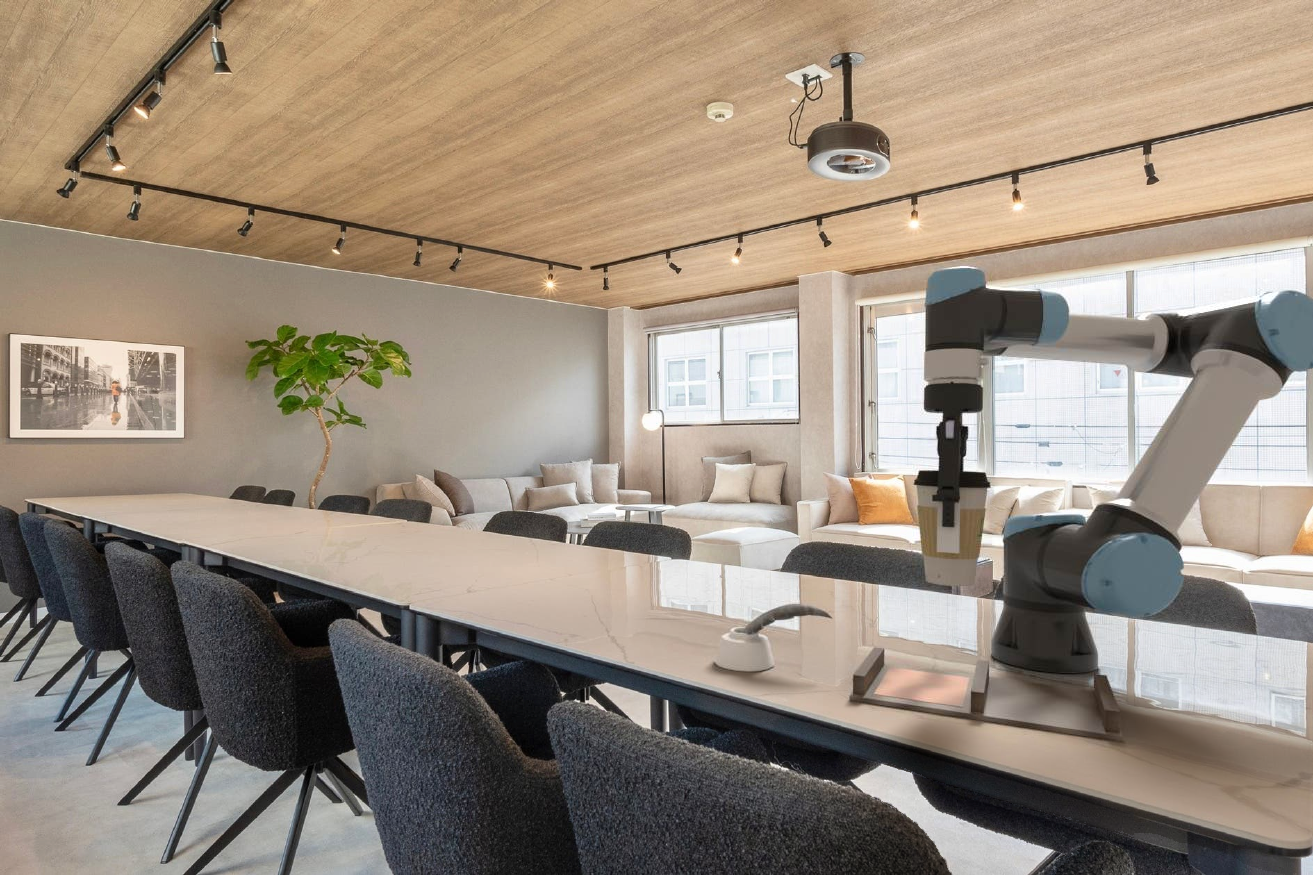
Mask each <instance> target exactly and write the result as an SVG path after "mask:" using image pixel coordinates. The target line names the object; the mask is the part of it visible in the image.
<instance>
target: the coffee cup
mask: <svg viewBox="0 0 1313 875" xmlns="http://www.w3.org/2000/svg"><path fill="white" fill-rule="evenodd" d="M913 481H914V482H913V485H914V486H916V494H917V501H918V502H917V503H918V504H917V506H916V507H917V508H916V509H917V516H918V517H917V518H918V526H919V537H920V546H921V547H920V548H921V554H922V555H923V562H924V563H923V566H924V574H925V575H924V576H925V581H926V582H927V583H929V584H935V585H940V586H949V587H971V586H975V582H976V574H977V569H978V568H977V567H978V561H979V560H978V559H980V553H981V545H982V539H983V532H984V525H985V518H986V512H987V511H986V510H987V508H986V502H987V496H988V495H987V494H988V489H990V488H991V487H992V486H991V482H990V481H989V480H988V478H987V473H986V472H985V471H972V470H971V471H970V470H963V471H960V482H959V491H960V495H959V496H960V500H959V503H960V543H959V553H946V552H937V513H938V501H932V495H937V490H938V470H937V469H936V470H934V469H932V470H930V469H928V470H927V469H925V470H920V469H919V470H918V473H917V476H916V478H914V480H913Z"/></svg>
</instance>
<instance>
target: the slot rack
mask: <svg viewBox="0 0 1313 875" xmlns="http://www.w3.org/2000/svg"><path fill="white" fill-rule="evenodd" d="M848 696H849V701H852V702H859V703H866V704H873V705H880V706H886V707H891V708H892V707H893V708H899V709H904V710H912V711H919V712H924V713H932V714H937V715H944V716H952V717H958V718H965V719H971V720H977V721H984V722H990V723H995V724H997V723H998V724H1004V725H1009V726H1017V727H1023V728H1030V729H1037V730H1043V731H1049V732H1054V733H1055V732H1056V733H1062V734H1067V735H1068V734H1069V735H1076V736H1081V737H1082V736H1083V737H1088V738H1095V739H1101V740H1109V741H1115V742H1121V743H1124V735H1123V732H1122V730H1121V710H1120V708H1119V705H1118V703H1117V702H1118V701H1117V700H1116V697H1115V694H1114V692H1113V689H1112V687H1111V683H1110V681H1109V679H1108V674H1098V673H1093V689H1086V688H1078V687H1072V686H1071V687H1069V686H1062V685H1056V684H1055V685H1054V684H1048V683H1047V684H1046V683H1039V682H1034V681H1033V682H1032V681H1026V680H1025V681H1023V680H1015V679H1010V678H1009V679H1007V678H1000V677H994V676H993V677H992V676H990V661H989V660H984V659H983V660H981V659H977V662H976V666H975V671H974V674H969V673H960V672H956V671H955V672H954V671H949V670H948V671H945V670H939V669H930V668H926V667H918V666H917V667H915V666H910V665H901V664H894V663H893V664H891V663H886V662H885V648H884V647H876V646H874V647H873V648H872V649H871V650H870V652H869V653H868V655H867V656H866V657H865V658H864V660H863V661H862V663H860V665H859V666H858V668H857V669H856V670H855V672H854V673H853V675H852V691H851V693H850V695H848Z"/></svg>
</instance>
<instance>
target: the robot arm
mask: <svg viewBox="0 0 1313 875" xmlns="http://www.w3.org/2000/svg"><path fill="white" fill-rule="evenodd" d="M985 274H986V273H985V272H984V270H982V269H981V268H977V267H974V266H973V267H972V266H955V267H952V266H951V267H946V268H942V269H938V270H936V271H934V272H932V273H931V274H930V275H929V276H928V278H927V283H926V291H925V299H924V300H925V302H924V307H925V314H924V315H925V316H924V317H925V320H924V321H925V328H924V330H925V333H924V334H925V335H924V337H925V338H924V344H925V345H924V346H925V347H924V348H925V349H924V350H925V352H924V354H923V357H924V358H923V361H924V362H923V363H924V364H923V380H924V381H925V382H927V384H926V385H925V387H924V388H923V409H924V410H923V411H925V412H926V413H931V414H932V413H933V414H942V419H941V420H942V421H940V422H939V424H938V425H937V426H935V427H936V428H935V429H936V431H935V435H936V439H937V442H936V443H937V446H936V451H937V452H936V453H937V455H938V490H937V495H932V501H938V513H937V552H946V553H959V543H960V503H959V500H960V496H959V495H960V491H959V482H960V471H965V470H964V468H965V467H964V463H965V462H964V461H965V460H964V457H966V455H967V441H968V439H969V426H967V425H963V414H977V413H980V412H982V411H983V408H984V387H983V385H981V384H979V382H981V381H983V379H984V368H983V366H988V365H989V359H988V358H986V357H985V356H987V357H1005V358H1006V357H1007V358H1008V357H1009V358H1020V359H1021V358H1022V359H1037V360H1047V361H1048V360H1050V361H1065V362H1077V363H1080V362H1081V363H1092V364H1103V365H1104V364H1106V365H1107V364H1108V365H1120V366H1121V365H1122V366H1125V367H1126V368H1127V369H1129V370H1130V371H1133V372H1135V373H1146V374H1147V373H1148V374H1156V375H1163V376H1171V377H1172V376H1173V377H1180V378H1188V379H1191V381H1190V382H1189V384H1188V386H1187V387H1186V389H1185V390H1184V392H1183V394H1182V395H1181V396H1180V398H1179V400H1178V401H1177V402H1176V404H1175V406H1174V408H1173V409H1172V410H1171V411H1170V414H1169V415H1168V417H1167V418H1166V419H1165V421H1164V423H1163V424H1162V426H1161V428H1160V429H1159V431H1158V432H1157V434H1156V435H1155V436H1154V437H1153V438H1154V439H1153V440H1152V441H1151V443H1150V444H1149V446H1148V448H1147V449H1146V450H1145V452H1144V454H1143V455H1142V457H1141V458H1140V460H1139V461H1138V462H1137V464H1136V466H1135V467H1134V469H1133V470H1132V471H1131V474H1130V476H1129V477H1128V478H1127V479H1126V481H1125V484H1124V485H1123V486H1122V487H1121V489H1120V491H1119V493H1118V494H1117V496H1116V497H1115V499H1114V500H1110V501H1105V502H1100V503H1098V504H1097V505H1096V506H1095V508H1094V509H1093V511H1092V512H1091V514H1090V516H1089V517H1088V519H1086V517H1085V516H1084V515H1083V514H1080V513H1077V514H1076V513H1075V514H1073V513H1071V514H1069V513H1068V514H1066V513H1064V514H1063V513H1059V514H1057V513H1055V514H1054V513H1052V514H1027V515H1026V514H1025V515H1014V516H1011V517H1008V518H1007V520H1006V521H1005V522H1004V523H1005V524H1004V529H1003V537H1002V544H1003V603H1002V605H1003V607H1002V610H1001V613H1000V617H999V618H998V622H997V624H996V626H995V630H994V633H993V635H992V638H991V643H990V644H991V645H990V648H991V650H990V651H991V652H990V654H991V656H992V657H993V658H994V659H995V660H997V661H999V662H1001V663H1005V664H1007V665H1010V666H1014V667H1018V668H1023V669H1027V670H1032V671H1038V672H1046V673H1055V674H1056V673H1058V674H1083V673H1090V672H1094V671H1096V670H1097V669H1098V667H1099V652H1098V649H1097V646H1096V643H1095V638H1094V637H1093V634H1092V631H1091V628H1090V625H1089V623H1088V622H1089V621H1088V620H1087V616H1086V608H1089V609H1092V610H1096V611H1098V612H1100V613H1104V614H1107V615H1108V616H1109V615H1110V616H1115V617H1125V618H1131V619H1141V618H1147V617H1151V616H1154V615H1157V614H1158V613H1160V612H1162V611H1164V610H1165V609H1166V608H1167V607H1169V606H1170V605H1171V604H1172V603H1173V601H1175V599H1176V598H1177V596H1178V595H1179V593H1180V591H1181V589H1182V587H1183V583H1184V579H1185V575H1184V574H1182V571H1183V569H1185V565H1184V561H1183V557H1182V555H1181V553H1180V552H1181V550H1182V548H1183V542H1182V540H1181V537H1180V535H1179V533H1178V532H1179V529H1180V527H1181V526H1182V524H1183V523H1184V522H1185V520H1186V518H1187V516H1188V515H1189V513H1190V512H1191V510H1192V508H1193V506H1195V503H1197V501H1198V500H1199V497H1200V496H1201V494H1202V493H1203V491H1204V490H1205V488H1206V486H1207V485H1208V483H1209V482H1210V480H1211V478H1212V477H1213V475H1214V473H1215V472H1216V470H1217V468H1219V466H1220V464H1221V463H1222V461H1223V459H1224V457H1226V455H1227V453H1228V451H1229V450H1230V448H1231V446H1232V445H1233V444H1234V442H1235V441H1236V439H1237V437H1238V436H1239V433H1240V432H1241V430H1242V429H1243V427H1245V426H1244V425H1245V424H1246V423H1247V421H1248V420H1249V418H1250V417H1251V415H1252V413H1253V411H1254V410H1255V409H1256V407H1257V405H1258V404H1259V403H1260V401H1264V400H1269V399H1272V398H1274V397H1277V396H1278V395H1279V394H1280V392H1281V391H1282V389H1283V387H1284V386H1285V385H1286V383H1287V381H1288V380H1289V379H1290V377H1291V375H1292V374H1293V373H1295V372H1298V373H1302V372H1307V371H1309V370H1311V369H1313V298H1312V297H1310V296H1309V295H1307V294H1306V293H1303V292H1301V291H1298V290H1290V289H1289V290H1280V291H1279V290H1278V291H1265V292H1262V293H1260V294H1259V295H1258V294H1257V295H1253V296H1247V297H1243V298H1239V299H1238V298H1237V299H1233V300H1228V301H1223V302H1218V303H1212V304H1207V305H1206V304H1205V305H1202V306H1197V307H1194V308H1188V309H1184V310H1179V311H1172V312H1166V313H1163V312H1162V313H1153V312H1145V313H1140V314H1138V315H1136V316H1133V317H1125V316H1124V317H1122V316H1109V315H1100V314H1099V315H1097V314H1086V313H1085V314H1082V313H1074V312H1073V313H1071V312H1070V308H1069V303H1068V302H1067V300H1066V298H1064V296H1063V295H1061V293H1058V292H1055V291H1049V290H1042V289H1041V288H1036V289H1028V288H1027V289H1024V288H1008V287H993V286H989V285H987V281H986V275H985ZM983 356H984V357H983Z"/></svg>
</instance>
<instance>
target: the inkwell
mask: <svg viewBox="0 0 1313 875" xmlns="http://www.w3.org/2000/svg"><path fill="white" fill-rule="evenodd" d="M806 616H811V617H813V616H814V617H816V616H817V617H821V618H823V617H824V618H829V619H833V617H832V616H831V614H829V613H827V611H824V610H822V609H820V608H818V607H816V606H813V605H809V604H804V603H803V604H802V603H789V604H785V605H781V606H778V607H775V608H773V609H770V610H768V611H766V612H764V613H762V614H759V615H758V617H755V619H752V621H751V622H750V623H748V624H747V625H745V626H738V627H733V628H731V629H730V630H729V632H727V633H724V634H722V635H721V637H720V640H719V645H718V646H717V651H716V654H715V658H714V663H715V665H717V666H718V667H720V668H723V669H725V670H730V671H735V672H745V673H746V672H748V673H749V672H761V671H762V672H763V671H767V670H770V669H772V668H774V666H775V659H774V655H773V651H772V648H771V644H770V641H769V640H770V639H769V637H767V636H766V635H765V634H762V633H760V631H762V630H763V629H764V627H766V626H769V625H772V624H774V622H776V621H785V620H787V621H788V620H792V619H794V618H795V617H798V618H799V617H806Z"/></svg>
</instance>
